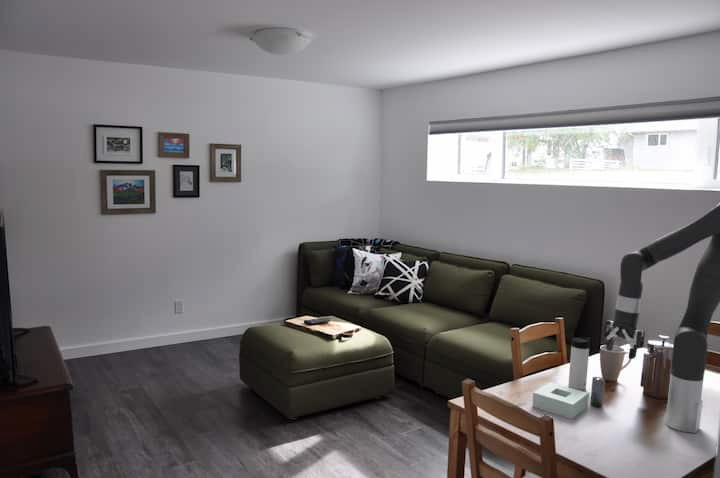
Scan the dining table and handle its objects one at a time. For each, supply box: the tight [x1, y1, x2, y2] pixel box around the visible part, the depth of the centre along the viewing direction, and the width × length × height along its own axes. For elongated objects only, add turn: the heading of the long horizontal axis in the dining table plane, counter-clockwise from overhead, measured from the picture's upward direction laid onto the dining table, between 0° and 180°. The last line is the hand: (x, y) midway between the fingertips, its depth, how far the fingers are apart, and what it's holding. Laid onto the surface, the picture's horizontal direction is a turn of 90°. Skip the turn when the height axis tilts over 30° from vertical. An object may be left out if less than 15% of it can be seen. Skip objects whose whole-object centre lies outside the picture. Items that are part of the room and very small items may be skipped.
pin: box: [589, 376, 606, 409], centre depth 196 cm, size 4×4×10 cm
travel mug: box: [567, 336, 592, 392], centre depth 211 cm, size 6×7×20 cm
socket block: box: [532, 381, 589, 420], centre depth 195 cm, size 14×14×5 cm
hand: (620, 354), depth 193 cm, fingers open, 8 cm apart
